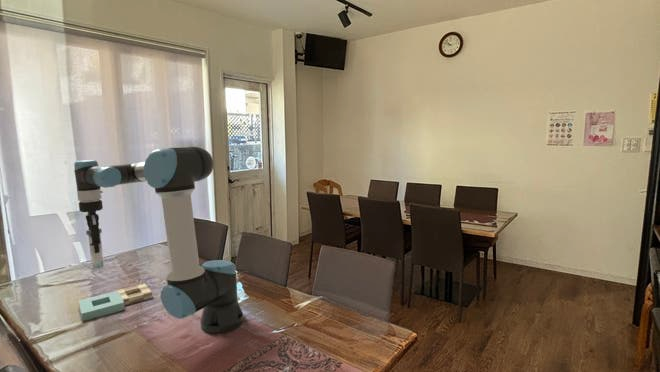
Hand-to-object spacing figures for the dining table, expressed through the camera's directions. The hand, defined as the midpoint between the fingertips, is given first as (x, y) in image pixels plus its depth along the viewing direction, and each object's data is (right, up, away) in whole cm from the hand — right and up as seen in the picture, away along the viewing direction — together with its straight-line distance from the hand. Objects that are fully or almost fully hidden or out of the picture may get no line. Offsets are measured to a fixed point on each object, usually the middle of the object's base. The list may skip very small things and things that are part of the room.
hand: (97, 258), depth 142 cm
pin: (0, -4, +1) cm, 4 cm away
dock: (0, -21, +3) cm, 21 cm away
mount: (+8, -19, +12) cm, 24 cm away
